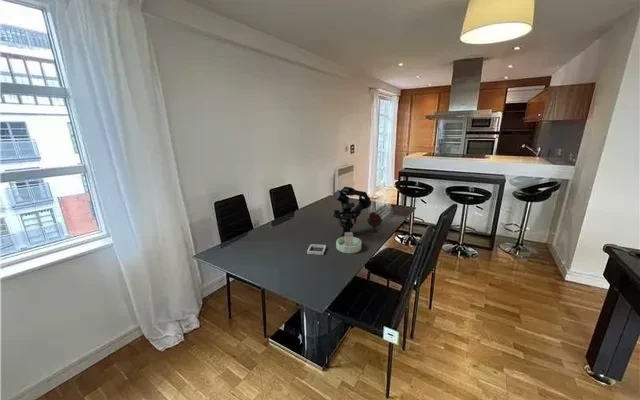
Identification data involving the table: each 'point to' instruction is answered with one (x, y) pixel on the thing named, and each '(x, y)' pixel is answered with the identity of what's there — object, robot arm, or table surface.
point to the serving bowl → (341, 247)
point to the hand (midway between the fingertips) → (348, 224)
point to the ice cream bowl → (374, 221)
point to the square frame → (316, 251)
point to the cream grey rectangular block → (348, 239)
